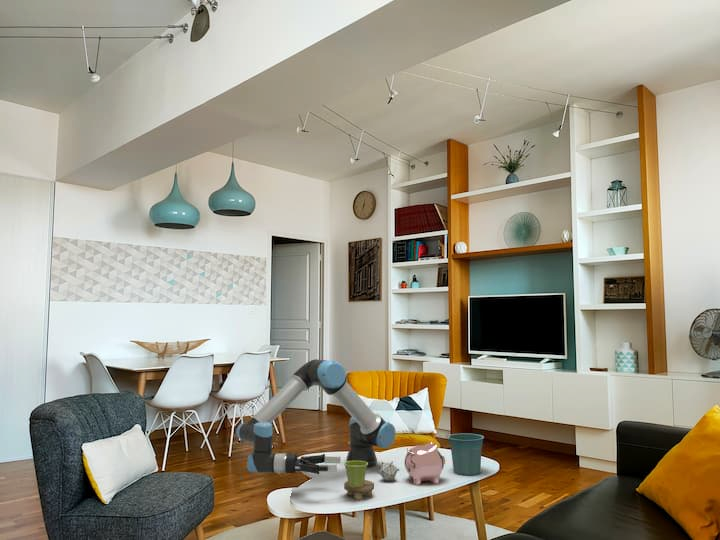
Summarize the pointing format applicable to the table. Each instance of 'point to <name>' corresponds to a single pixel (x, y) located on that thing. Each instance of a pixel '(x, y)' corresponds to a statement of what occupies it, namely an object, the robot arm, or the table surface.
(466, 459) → the flower pot
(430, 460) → the piggy bank
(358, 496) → the stand
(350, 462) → the plant pot
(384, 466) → the game die
